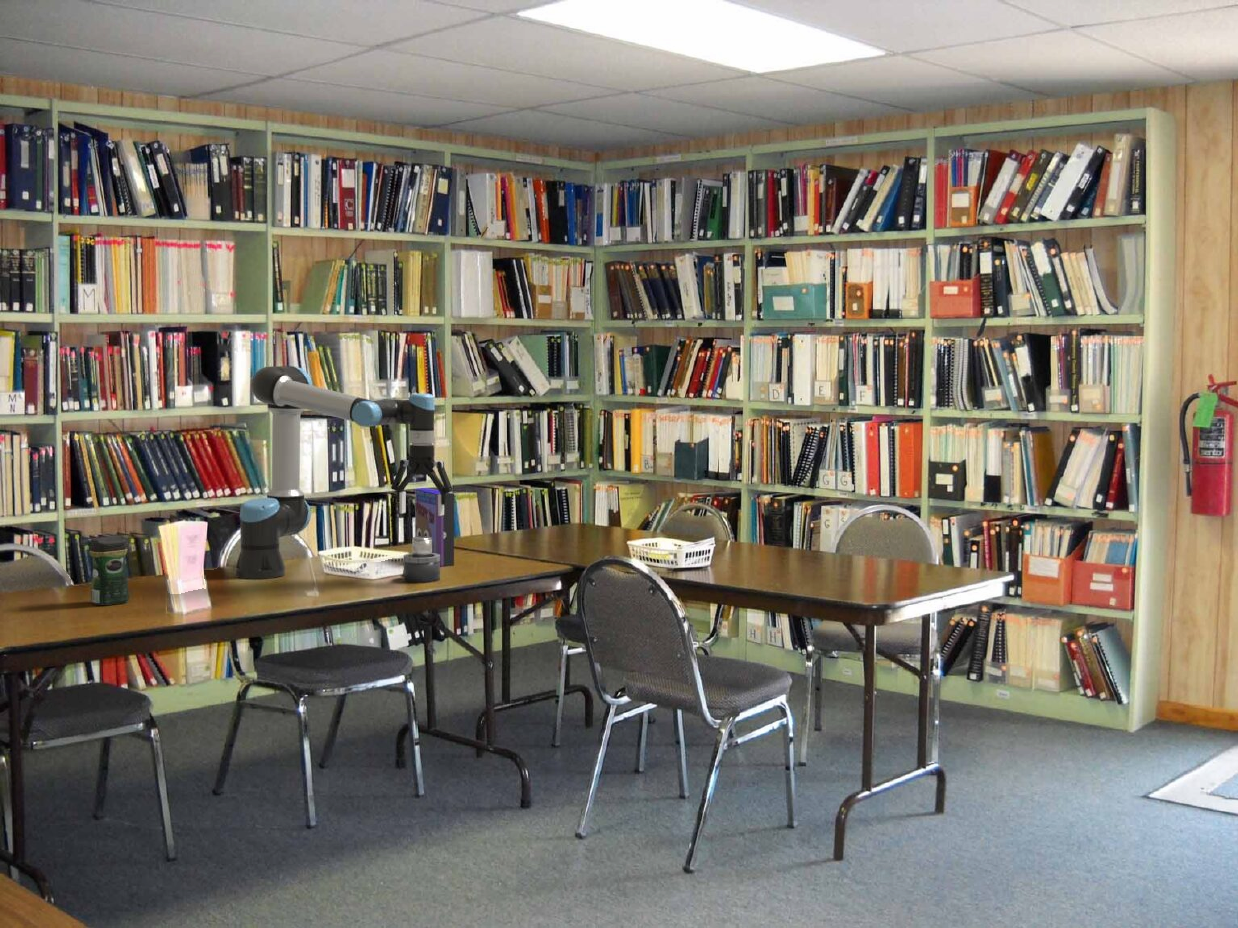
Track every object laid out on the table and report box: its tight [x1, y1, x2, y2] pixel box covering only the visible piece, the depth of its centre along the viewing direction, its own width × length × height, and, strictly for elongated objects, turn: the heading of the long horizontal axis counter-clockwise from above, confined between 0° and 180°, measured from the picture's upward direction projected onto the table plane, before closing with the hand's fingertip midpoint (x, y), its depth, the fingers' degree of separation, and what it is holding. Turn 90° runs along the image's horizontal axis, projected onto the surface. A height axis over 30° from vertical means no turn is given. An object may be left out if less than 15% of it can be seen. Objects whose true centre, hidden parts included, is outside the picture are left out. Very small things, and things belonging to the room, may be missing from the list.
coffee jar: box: [89, 535, 130, 606], centre depth 369 cm, size 10×8×19 cm
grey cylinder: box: [411, 536, 432, 558], centre depth 410 cm, size 6×6×7 cm
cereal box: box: [414, 487, 455, 568], centre depth 442 cm, size 17×5×24 cm, turn 37°
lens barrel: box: [403, 552, 441, 584], centre depth 411 cm, size 11×11×8 cm
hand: (421, 514), depth 409 cm, fingers open, 12 cm apart
